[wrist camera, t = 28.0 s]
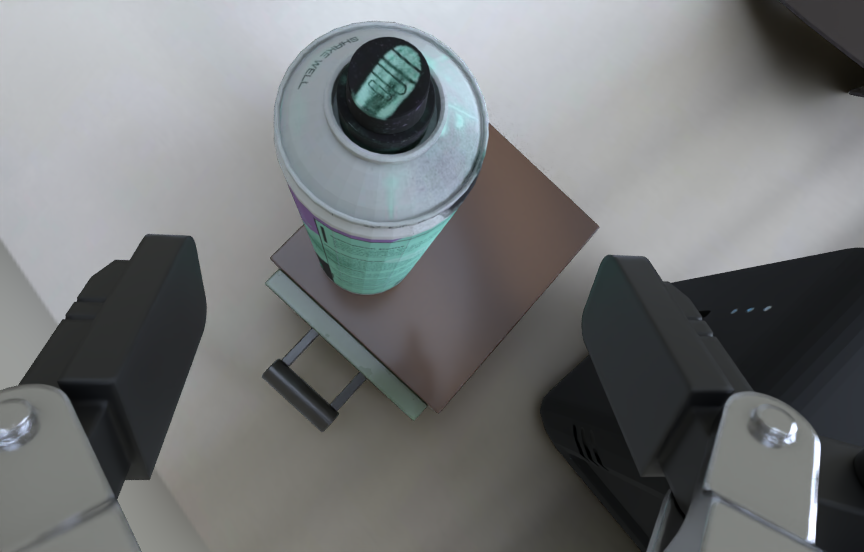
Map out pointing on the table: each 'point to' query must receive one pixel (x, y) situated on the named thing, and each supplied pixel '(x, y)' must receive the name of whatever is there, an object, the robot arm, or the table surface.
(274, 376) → the drawer
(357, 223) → the spray can
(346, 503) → the table surface
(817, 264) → the black nas enclosure
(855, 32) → the laptop tray
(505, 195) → the cabinet
